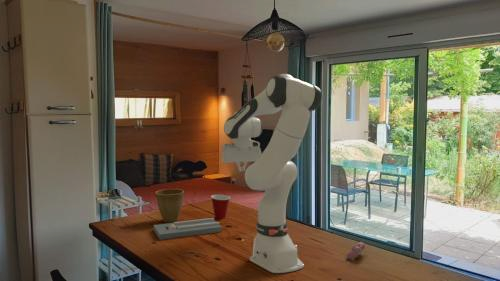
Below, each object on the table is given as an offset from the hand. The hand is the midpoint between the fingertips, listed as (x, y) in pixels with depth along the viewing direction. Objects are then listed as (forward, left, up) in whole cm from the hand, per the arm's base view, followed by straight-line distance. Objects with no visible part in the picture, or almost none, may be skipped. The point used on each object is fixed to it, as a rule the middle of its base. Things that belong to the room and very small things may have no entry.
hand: (241, 170), depth 186 cm
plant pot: (+28, +30, -29) cm, 50 cm away
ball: (+7, +34, -27) cm, 44 cm away
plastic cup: (+23, +3, -29) cm, 37 cm away
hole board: (+7, +26, -29) cm, 40 cm away
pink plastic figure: (-53, -28, -29) cm, 67 cm away
